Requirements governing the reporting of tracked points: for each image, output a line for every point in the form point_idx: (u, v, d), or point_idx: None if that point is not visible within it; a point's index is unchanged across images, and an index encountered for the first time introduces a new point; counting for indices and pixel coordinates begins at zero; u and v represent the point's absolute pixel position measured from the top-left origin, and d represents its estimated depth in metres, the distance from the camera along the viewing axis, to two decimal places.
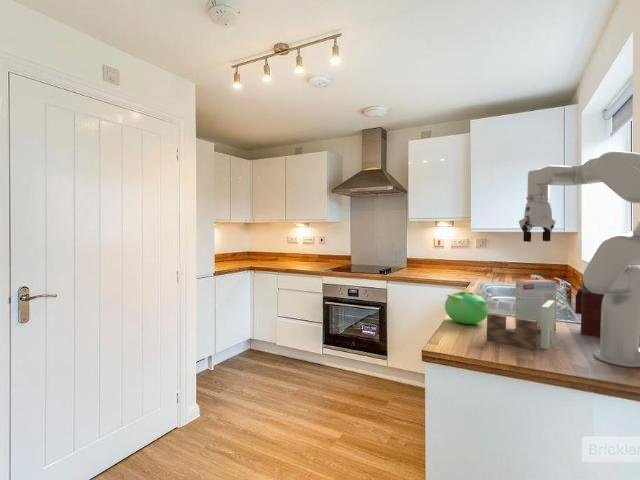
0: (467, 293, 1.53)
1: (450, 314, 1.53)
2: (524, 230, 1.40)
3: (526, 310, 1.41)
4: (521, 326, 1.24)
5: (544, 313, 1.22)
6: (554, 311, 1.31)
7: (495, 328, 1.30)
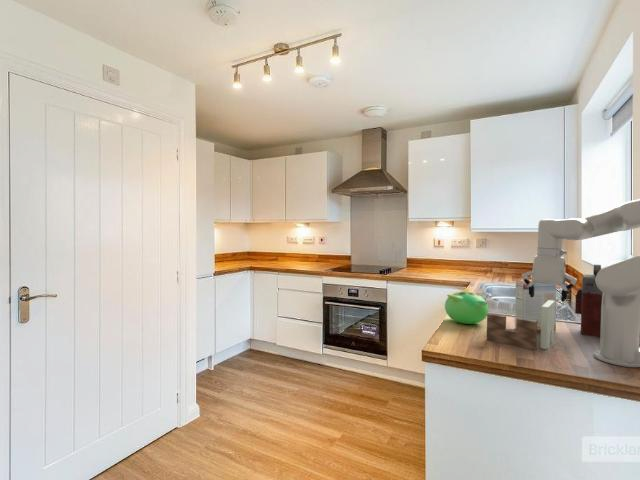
0: (466, 293, 1.53)
1: (450, 314, 1.53)
2: (568, 289, 1.23)
3: (526, 310, 1.41)
4: (521, 326, 1.24)
5: (544, 313, 1.22)
6: (554, 311, 1.31)
7: (495, 328, 1.30)
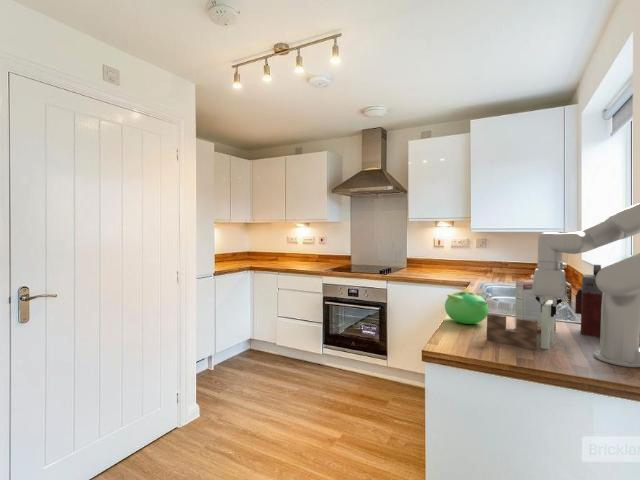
0: (467, 293, 1.53)
1: (450, 314, 1.53)
2: None
3: (526, 310, 1.41)
4: (521, 326, 1.24)
5: (544, 313, 1.22)
6: None
7: (495, 328, 1.30)
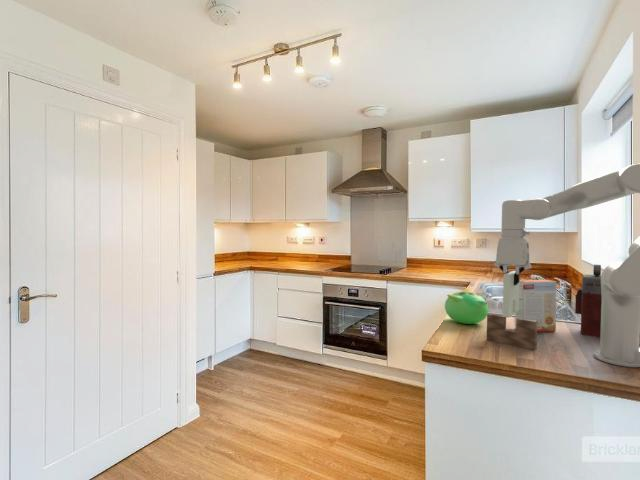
0: (466, 293, 1.53)
1: (450, 314, 1.53)
2: (519, 274, 1.25)
3: (526, 310, 1.41)
4: (521, 326, 1.24)
5: (506, 281, 1.21)
6: None
7: (495, 328, 1.30)
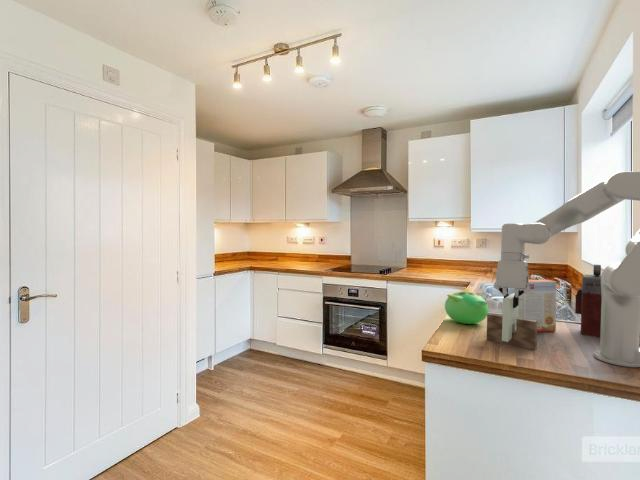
0: (466, 293, 1.53)
1: (450, 314, 1.53)
2: None
3: (526, 310, 1.41)
4: (521, 326, 1.24)
5: (505, 306, 1.22)
6: None
7: (495, 328, 1.30)
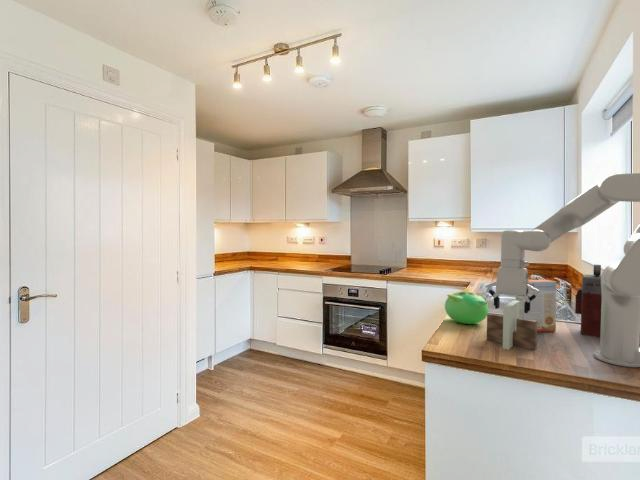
0: (466, 293, 1.53)
1: (450, 314, 1.53)
2: (531, 300, 1.22)
3: None
4: (521, 326, 1.24)
5: (506, 314, 1.22)
6: (518, 311, 1.31)
7: (495, 328, 1.30)
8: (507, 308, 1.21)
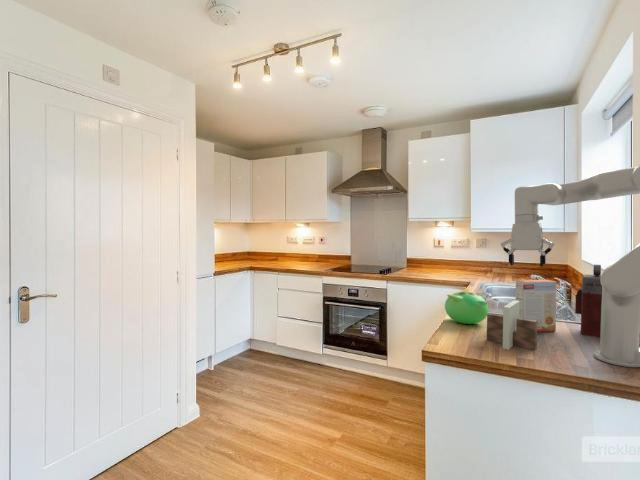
0: (466, 293, 1.53)
1: (450, 314, 1.53)
2: (546, 253, 1.25)
3: (526, 310, 1.41)
4: (521, 326, 1.24)
5: (506, 314, 1.22)
6: (518, 311, 1.31)
7: (495, 328, 1.30)
8: (507, 308, 1.21)
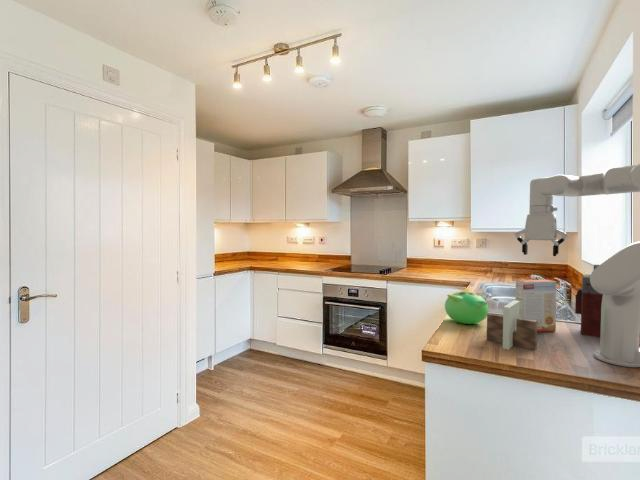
0: (467, 293, 1.53)
1: (450, 314, 1.53)
2: (559, 244, 1.28)
3: (526, 310, 1.41)
4: (521, 326, 1.24)
5: (506, 314, 1.22)
6: (518, 311, 1.31)
7: (495, 328, 1.30)
8: (507, 308, 1.21)
